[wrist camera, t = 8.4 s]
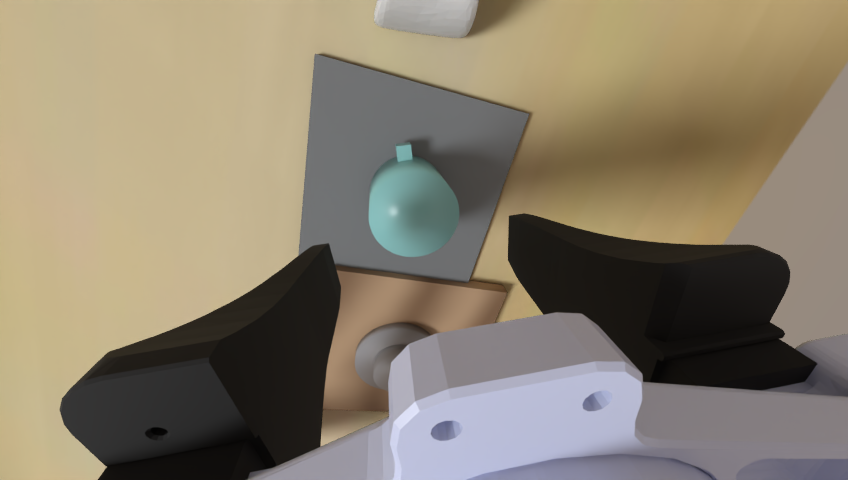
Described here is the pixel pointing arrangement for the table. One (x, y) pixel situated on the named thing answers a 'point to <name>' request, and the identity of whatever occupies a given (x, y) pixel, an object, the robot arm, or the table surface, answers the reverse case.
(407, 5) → the spoon rest
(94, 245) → the table surface
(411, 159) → the teal ovoid with tab
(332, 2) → the table surface
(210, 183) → the table surface
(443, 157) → the mat
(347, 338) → the post board
